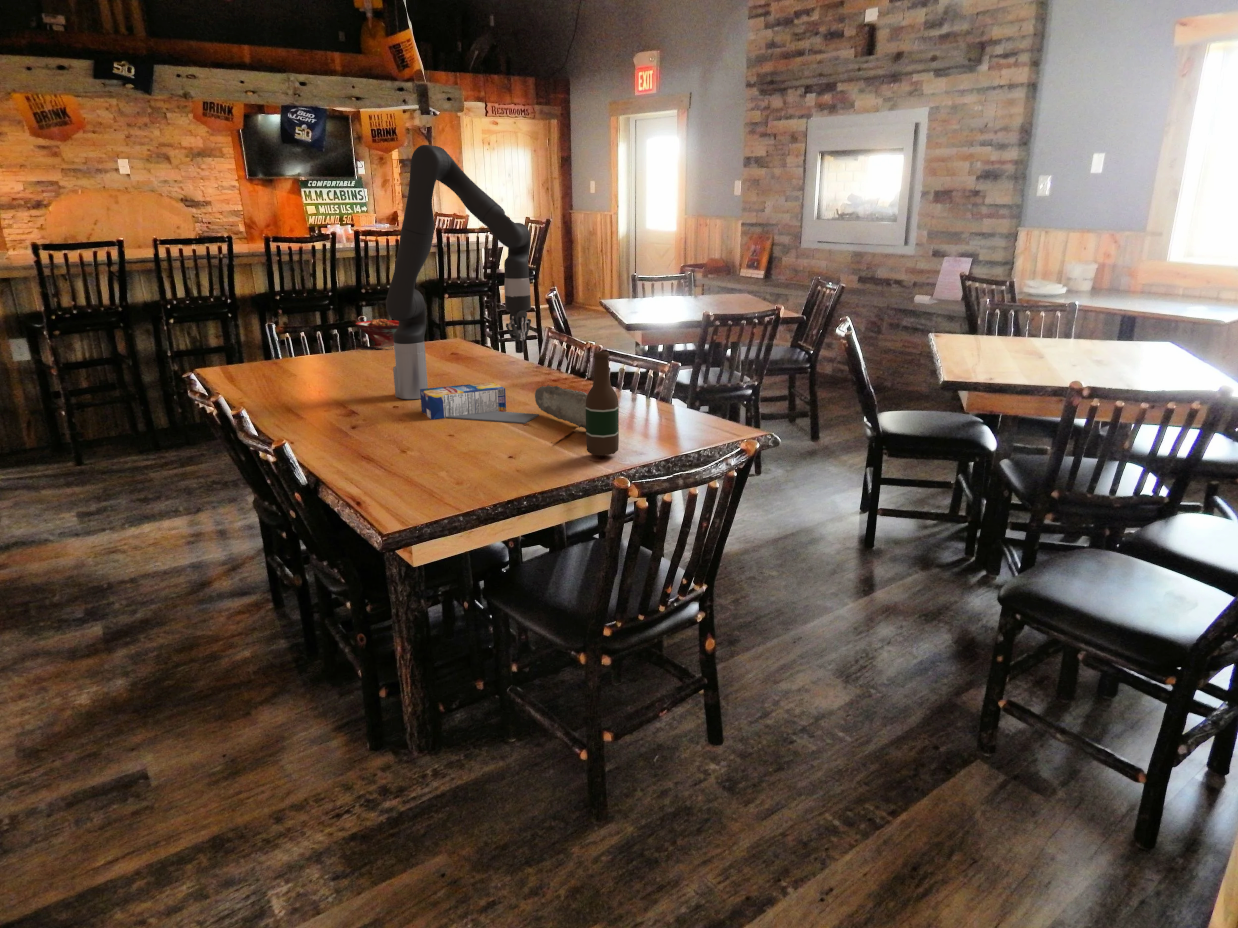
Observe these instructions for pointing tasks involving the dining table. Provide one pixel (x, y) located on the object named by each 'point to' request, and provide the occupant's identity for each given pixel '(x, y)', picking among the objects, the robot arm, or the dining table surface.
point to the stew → (379, 332)
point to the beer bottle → (602, 410)
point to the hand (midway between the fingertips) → (519, 352)
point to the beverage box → (462, 400)
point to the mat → (498, 417)
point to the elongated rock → (563, 404)
